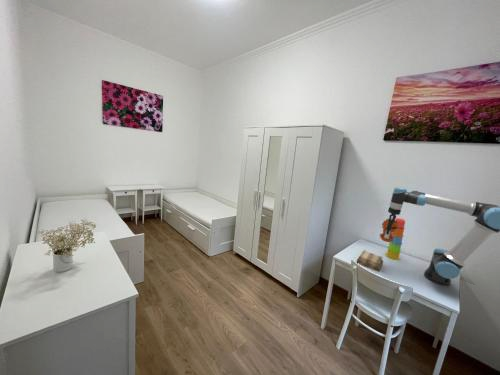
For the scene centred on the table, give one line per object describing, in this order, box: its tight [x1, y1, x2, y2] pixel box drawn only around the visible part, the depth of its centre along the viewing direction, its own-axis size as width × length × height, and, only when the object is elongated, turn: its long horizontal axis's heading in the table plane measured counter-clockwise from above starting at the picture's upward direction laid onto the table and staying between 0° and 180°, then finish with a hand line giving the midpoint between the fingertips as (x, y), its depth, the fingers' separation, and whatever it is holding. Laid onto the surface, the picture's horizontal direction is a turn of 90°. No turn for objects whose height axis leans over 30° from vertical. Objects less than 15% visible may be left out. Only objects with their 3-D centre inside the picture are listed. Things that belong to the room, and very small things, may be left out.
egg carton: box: [356, 250, 384, 273], centre depth 172 cm, size 16×16×6 cm
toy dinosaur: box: [379, 218, 399, 243], centre depth 162 cm, size 11×11×18 cm
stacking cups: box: [385, 217, 406, 260], centre depth 184 cm, size 10×10×35 cm
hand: (387, 236), depth 163 cm, fingers closed on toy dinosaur, 10 cm apart
